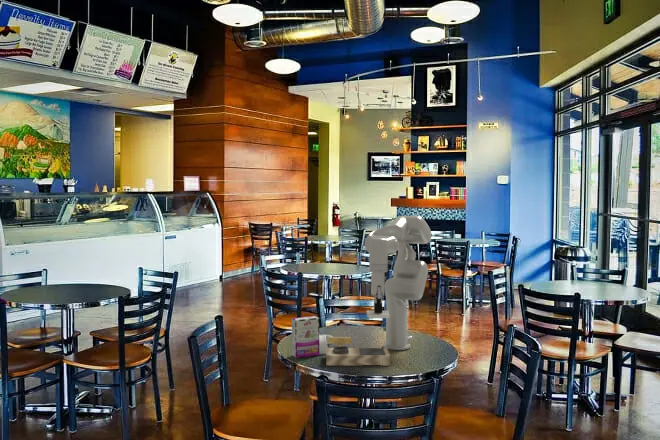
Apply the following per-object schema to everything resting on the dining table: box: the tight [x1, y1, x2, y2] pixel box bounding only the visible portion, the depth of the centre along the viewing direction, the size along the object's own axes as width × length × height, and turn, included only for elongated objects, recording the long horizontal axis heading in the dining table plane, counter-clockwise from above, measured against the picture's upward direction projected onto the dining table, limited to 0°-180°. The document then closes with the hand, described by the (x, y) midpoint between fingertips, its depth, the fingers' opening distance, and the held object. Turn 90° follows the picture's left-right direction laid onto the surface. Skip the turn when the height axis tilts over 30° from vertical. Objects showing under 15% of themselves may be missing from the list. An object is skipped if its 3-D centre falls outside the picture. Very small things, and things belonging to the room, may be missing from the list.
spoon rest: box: [319, 334, 334, 355], centre depth 268 cm, size 24×12×7 cm, turn 6°
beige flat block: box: [325, 345, 391, 367], centre depth 246 cm, size 26×12×6 cm, turn 91°
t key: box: [328, 336, 352, 346], centre depth 262 cm, size 10×4×6 cm, turn 91°
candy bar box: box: [291, 315, 320, 359], centre depth 254 cm, size 11×5×16 cm, turn 116°
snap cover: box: [366, 300, 390, 319], centre depth 246 cm, size 9×9×6 cm
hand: (378, 311), depth 246 cm, fingers closed on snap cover, 3 cm apart
